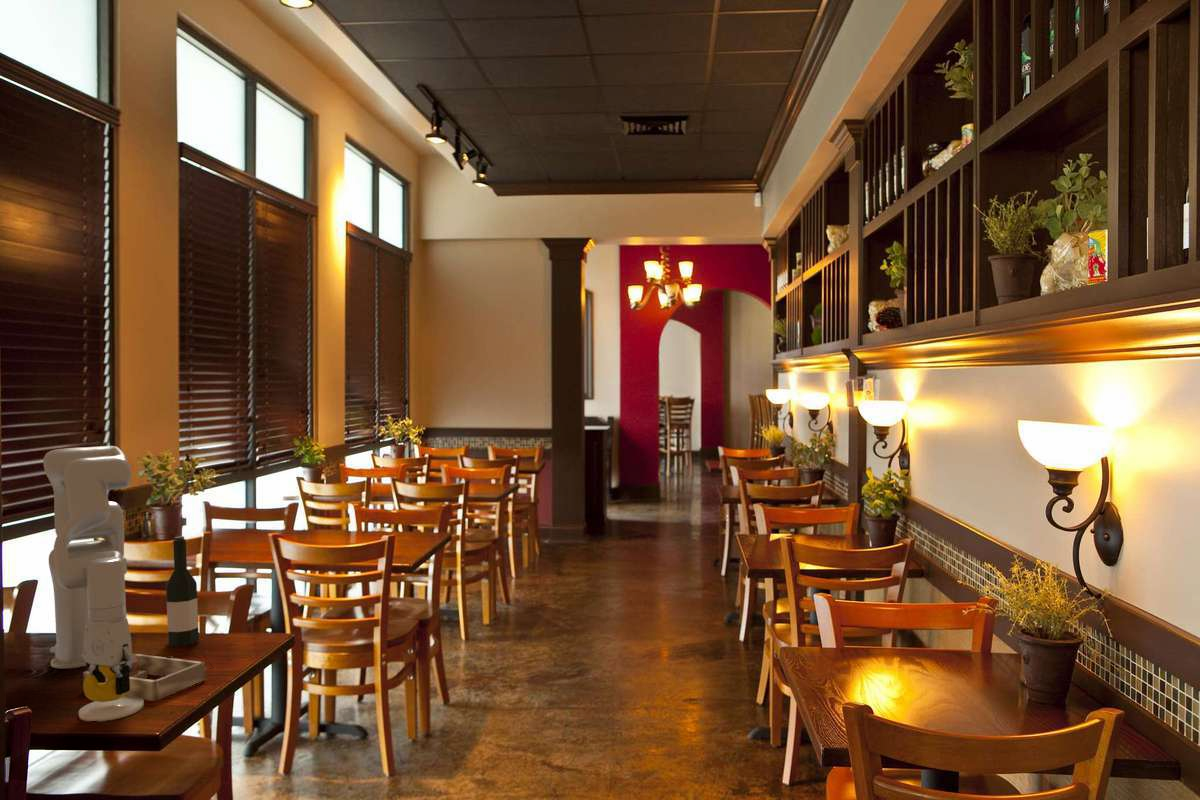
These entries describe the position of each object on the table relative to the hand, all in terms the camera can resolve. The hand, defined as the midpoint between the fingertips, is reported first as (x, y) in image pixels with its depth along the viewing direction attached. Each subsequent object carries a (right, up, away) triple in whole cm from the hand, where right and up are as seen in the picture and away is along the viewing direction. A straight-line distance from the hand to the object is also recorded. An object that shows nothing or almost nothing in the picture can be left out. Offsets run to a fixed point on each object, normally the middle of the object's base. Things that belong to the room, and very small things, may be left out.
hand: (110, 690), depth 207 cm
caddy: (0, -4, +16) cm, 17 cm away
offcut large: (-7, -5, +19) cm, 20 cm away
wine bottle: (-7, -3, +52) cm, 52 cm away
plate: (0, -5, 0) cm, 5 cm away
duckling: (0, -2, 0) cm, 2 cm away
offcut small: (-7, -2, +19) cm, 20 cm away
